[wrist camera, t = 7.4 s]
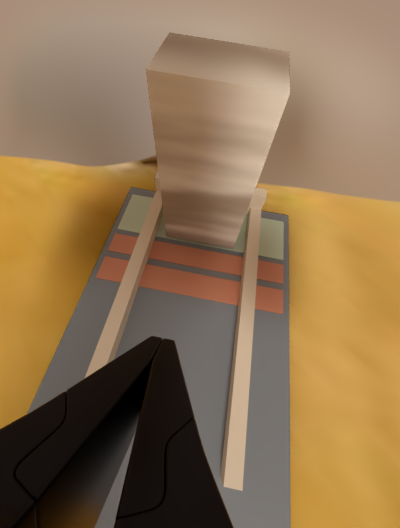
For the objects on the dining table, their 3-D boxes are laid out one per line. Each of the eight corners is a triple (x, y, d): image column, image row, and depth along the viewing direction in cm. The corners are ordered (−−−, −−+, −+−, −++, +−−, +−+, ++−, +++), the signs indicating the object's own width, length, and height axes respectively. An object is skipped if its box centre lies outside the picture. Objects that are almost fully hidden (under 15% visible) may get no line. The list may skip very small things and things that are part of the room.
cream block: (233, 248, 20) (289, 93, 9) (166, 236, 20) (145, 69, 9) (237, 214, 22) (289, 51, 11) (176, 202, 22) (169, 32, 11)
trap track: (288, 569, 12) (319, 625, 9) (-10, 501, 12) (-65, 534, 9) (287, 217, 23) (300, 195, 20) (131, 189, 23) (125, 164, 20)
